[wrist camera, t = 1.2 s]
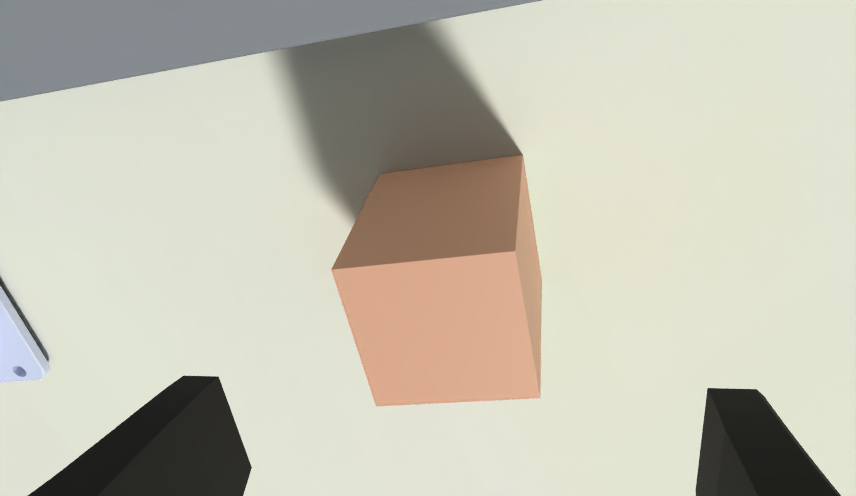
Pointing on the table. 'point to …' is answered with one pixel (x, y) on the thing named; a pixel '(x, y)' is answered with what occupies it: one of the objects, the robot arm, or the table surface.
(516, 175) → the terracotta block
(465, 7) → the grey flat slab
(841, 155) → the table surface
